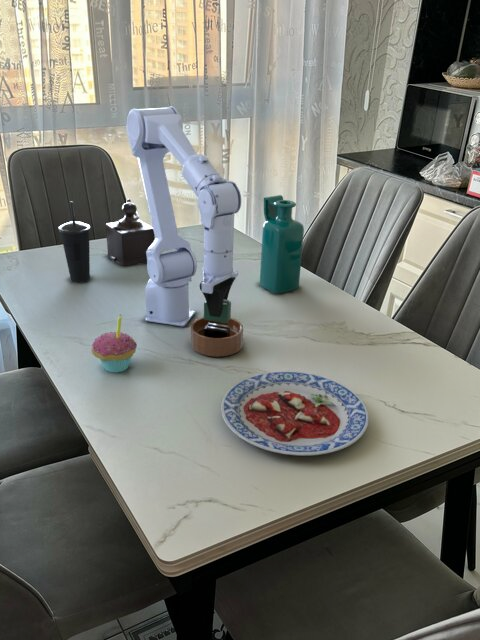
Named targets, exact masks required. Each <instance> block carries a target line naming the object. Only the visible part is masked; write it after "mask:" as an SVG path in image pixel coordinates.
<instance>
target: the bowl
mask: <svg viewBox="0 0 480 640" xmlns="http://www.w3.org/2000/svg"><path fill="white" fill-rule="evenodd" d="M208 323H212V324H219V325H225V326H228V327H230V337H226V338H210V337H205V336H204V328H205V327H206V326H207V324H208ZM243 344H244V325H243V324H242V322H241V321H239V320H237V319H235V318H233V317H231V318H230V320H229V321H228V323H222V322H216V321H209V320H204V316H202V317H200V318H197V319H195V320H194V321H193V322H192V323H191V324H190V347H191V348H192V349H193V351H195V352H197V353H199V354H200V355H204V356H207V357H214V358H216V357H218V358H219V357H227V356H231V355H234V354H236V353H238V352H240V350H241V349H242V347H243Z"/></svg>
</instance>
